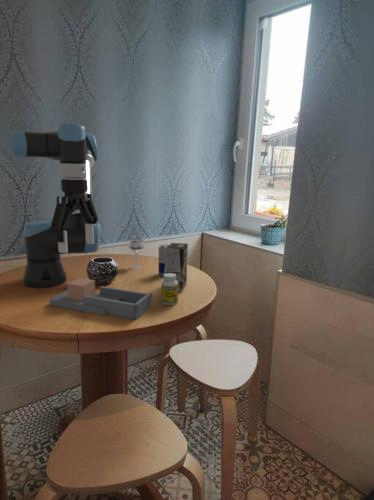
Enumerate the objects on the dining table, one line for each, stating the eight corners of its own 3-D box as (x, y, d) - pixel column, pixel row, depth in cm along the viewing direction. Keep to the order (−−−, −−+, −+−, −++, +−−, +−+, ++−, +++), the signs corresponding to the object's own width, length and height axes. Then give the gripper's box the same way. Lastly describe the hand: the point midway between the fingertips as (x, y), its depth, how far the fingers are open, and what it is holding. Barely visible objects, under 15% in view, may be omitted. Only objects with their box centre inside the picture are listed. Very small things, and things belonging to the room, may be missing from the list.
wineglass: (136, 264, 159) (136, 238, 156) (147, 267, 155) (147, 240, 152) (125, 267, 153) (125, 240, 150) (136, 270, 150) (136, 243, 147)
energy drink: (158, 272, 148) (158, 244, 145) (171, 272, 149) (171, 244, 146) (158, 276, 143) (158, 247, 140) (171, 276, 143) (172, 247, 140)
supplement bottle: (176, 299, 120) (176, 271, 118) (179, 305, 115) (179, 277, 113) (160, 299, 119) (160, 272, 116) (162, 306, 114) (163, 277, 111)
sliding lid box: (49, 305, 112) (48, 291, 111) (73, 292, 123) (72, 280, 122) (134, 321, 102) (134, 306, 101) (152, 306, 114) (152, 292, 112)
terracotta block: (68, 298, 113) (67, 283, 111) (79, 292, 118) (79, 277, 117) (84, 301, 111) (83, 286, 110) (95, 294, 116) (94, 280, 115)
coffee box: (182, 292, 126) (183, 248, 122) (164, 291, 127) (165, 247, 123) (187, 284, 134) (188, 243, 130) (170, 283, 136) (171, 242, 132)
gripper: (56, 180, 93) (61, 258, 98) (107, 177, 116) (109, 241, 121) (33, 179, 95) (39, 255, 100) (87, 177, 118) (90, 239, 123)
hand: (77, 247), depth 111 cm, fingers open, 13 cm apart
